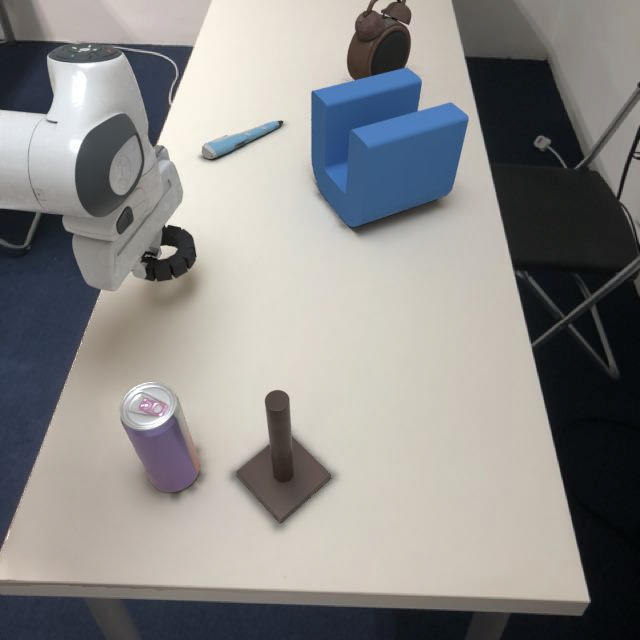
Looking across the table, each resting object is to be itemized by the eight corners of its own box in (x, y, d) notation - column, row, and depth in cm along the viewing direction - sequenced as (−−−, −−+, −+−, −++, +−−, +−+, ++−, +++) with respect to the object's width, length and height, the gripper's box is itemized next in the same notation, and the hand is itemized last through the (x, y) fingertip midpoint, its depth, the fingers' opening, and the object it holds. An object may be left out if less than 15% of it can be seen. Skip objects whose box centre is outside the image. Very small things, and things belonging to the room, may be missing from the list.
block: (447, 210, 100) (469, 116, 87) (359, 240, 95) (367, 146, 81) (393, 157, 111) (405, 66, 97) (311, 182, 105) (311, 89, 91)
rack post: (280, 523, 64) (272, 453, 51) (236, 475, 68) (218, 398, 55) (331, 478, 68) (335, 401, 55) (286, 434, 71) (281, 353, 58)
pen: (210, 163, 109) (208, 150, 106) (201, 156, 110) (199, 143, 108) (287, 127, 117) (287, 114, 115) (278, 121, 119) (277, 108, 116)
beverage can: (186, 501, 66) (159, 438, 54) (140, 485, 67) (105, 420, 55) (209, 456, 69) (188, 389, 58) (165, 442, 70) (137, 373, 59)
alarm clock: (365, 107, 122) (373, 8, 107) (342, 94, 126) (347, -3, 111) (411, 85, 129) (424, -11, 114) (388, 73, 132) (398, -21, 117)
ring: (152, 291, 78) (149, 280, 76) (116, 256, 82) (112, 245, 81) (209, 259, 82) (207, 247, 81) (171, 227, 87) (169, 216, 85)
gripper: (141, 133, 75) (161, 216, 86) (52, 229, 62) (89, 313, 73) (185, 141, 74) (200, 224, 85) (103, 241, 61) (133, 324, 72)
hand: (148, 266), depth 79 cm, fingers closed on ring, 2 cm apart
